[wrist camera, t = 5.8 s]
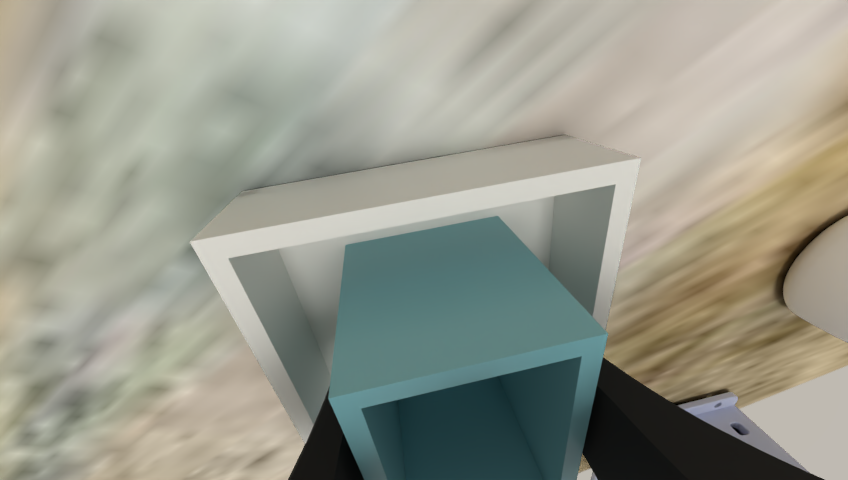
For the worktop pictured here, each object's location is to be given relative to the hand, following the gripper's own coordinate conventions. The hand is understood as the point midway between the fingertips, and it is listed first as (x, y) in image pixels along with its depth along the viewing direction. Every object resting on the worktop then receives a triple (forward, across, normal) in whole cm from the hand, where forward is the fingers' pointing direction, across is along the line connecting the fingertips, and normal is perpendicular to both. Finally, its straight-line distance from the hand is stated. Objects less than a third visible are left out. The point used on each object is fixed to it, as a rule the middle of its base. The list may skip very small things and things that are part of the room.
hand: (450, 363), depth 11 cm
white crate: (+3, 0, 0) cm, 3 cm away
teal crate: (+3, 0, 0) cm, 3 cm away
